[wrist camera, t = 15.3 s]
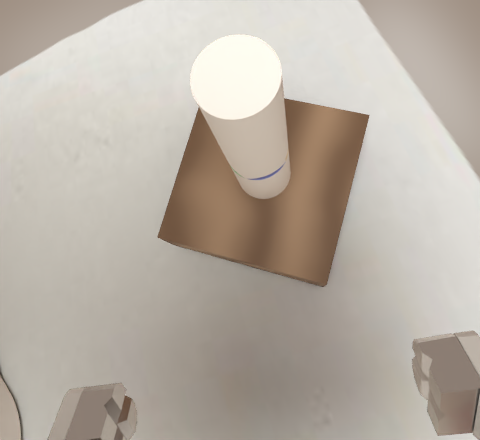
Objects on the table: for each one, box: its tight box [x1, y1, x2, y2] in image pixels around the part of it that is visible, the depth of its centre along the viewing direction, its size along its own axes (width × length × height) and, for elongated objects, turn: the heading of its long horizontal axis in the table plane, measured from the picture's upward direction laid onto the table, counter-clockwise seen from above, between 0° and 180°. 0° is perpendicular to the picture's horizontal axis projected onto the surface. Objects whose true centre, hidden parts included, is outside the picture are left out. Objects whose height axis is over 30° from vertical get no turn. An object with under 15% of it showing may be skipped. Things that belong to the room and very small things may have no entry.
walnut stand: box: [158, 98, 369, 287], centre depth 36 cm, size 14×14×5 cm
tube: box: [190, 34, 291, 199], centre depth 26 cm, size 4×4×15 cm
